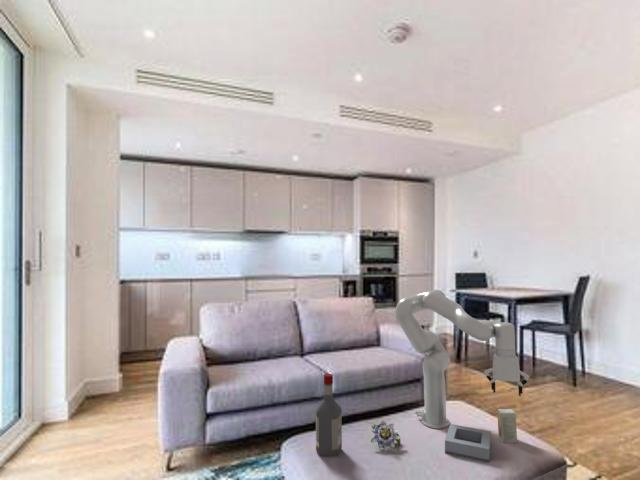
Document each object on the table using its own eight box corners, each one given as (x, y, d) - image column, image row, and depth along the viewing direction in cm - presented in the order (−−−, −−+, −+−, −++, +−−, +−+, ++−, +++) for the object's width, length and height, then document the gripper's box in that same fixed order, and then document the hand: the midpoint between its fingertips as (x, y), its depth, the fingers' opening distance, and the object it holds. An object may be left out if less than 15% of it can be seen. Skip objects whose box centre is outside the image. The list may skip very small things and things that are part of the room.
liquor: (343, 447, 156) (342, 372, 157) (336, 458, 148) (336, 379, 149) (321, 443, 159) (321, 370, 160) (314, 454, 151) (313, 377, 152)
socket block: (444, 453, 151) (444, 440, 151) (450, 435, 165) (450, 423, 165) (489, 462, 144) (489, 449, 144) (491, 443, 158) (490, 431, 158)
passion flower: (385, 463, 154) (370, 442, 151) (378, 445, 164) (363, 425, 162) (408, 447, 154) (393, 426, 151) (399, 430, 164) (385, 410, 162)
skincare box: (513, 438, 163) (512, 408, 163) (517, 443, 158) (516, 413, 159) (497, 437, 163) (496, 408, 164) (501, 442, 159) (500, 412, 160)
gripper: (482, 352, 163) (484, 393, 162) (529, 356, 155) (530, 399, 154) (483, 348, 169) (485, 387, 169) (528, 352, 162) (529, 393, 161)
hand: (506, 393), depth 162 cm, fingers open, 9 cm apart
